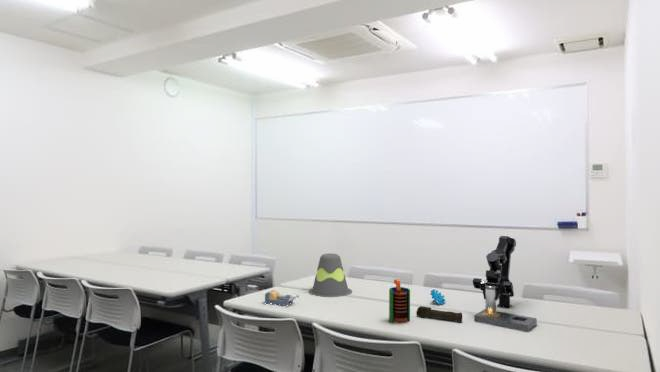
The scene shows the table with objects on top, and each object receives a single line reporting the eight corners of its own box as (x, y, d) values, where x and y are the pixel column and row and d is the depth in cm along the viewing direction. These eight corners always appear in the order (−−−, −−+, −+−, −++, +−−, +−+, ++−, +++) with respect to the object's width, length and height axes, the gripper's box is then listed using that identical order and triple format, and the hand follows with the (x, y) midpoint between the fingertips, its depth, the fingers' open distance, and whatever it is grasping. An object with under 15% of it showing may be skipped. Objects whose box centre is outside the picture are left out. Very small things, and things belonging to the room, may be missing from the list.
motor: (395, 324, 207) (395, 283, 207) (385, 319, 215) (384, 279, 215) (412, 321, 211) (412, 280, 212) (401, 316, 219) (401, 277, 219)
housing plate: (485, 314, 222) (485, 308, 222) (536, 324, 205) (536, 317, 205) (474, 321, 211) (474, 314, 211) (527, 332, 195) (527, 324, 195)
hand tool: (463, 321, 212) (463, 310, 212) (460, 323, 208) (460, 312, 208) (418, 315, 223) (418, 304, 224) (415, 317, 219) (415, 306, 219)
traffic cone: (353, 297, 260) (352, 257, 261) (307, 297, 261) (306, 257, 261) (351, 286, 288) (351, 251, 288) (309, 287, 288) (309, 251, 289)
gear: (437, 303, 238) (428, 288, 244) (431, 309, 241) (422, 294, 247) (450, 303, 244) (441, 288, 251) (443, 309, 247) (435, 294, 254)
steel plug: (490, 310, 215) (490, 284, 215) (498, 312, 211) (498, 286, 211) (483, 311, 213) (482, 285, 213) (491, 314, 209) (490, 287, 209)
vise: (263, 304, 245) (262, 292, 245) (272, 300, 254) (272, 289, 254) (290, 308, 237) (290, 295, 237) (299, 303, 247) (299, 291, 247)
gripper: (473, 262, 221) (467, 288, 211) (512, 265, 210) (507, 292, 201) (477, 275, 227) (472, 300, 218) (515, 278, 217) (511, 305, 208)
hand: (490, 299), depth 211 cm, fingers closed on steel plug, 5 cm apart
